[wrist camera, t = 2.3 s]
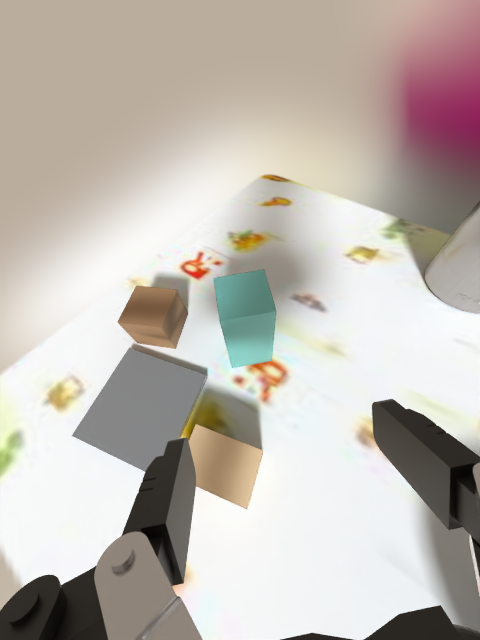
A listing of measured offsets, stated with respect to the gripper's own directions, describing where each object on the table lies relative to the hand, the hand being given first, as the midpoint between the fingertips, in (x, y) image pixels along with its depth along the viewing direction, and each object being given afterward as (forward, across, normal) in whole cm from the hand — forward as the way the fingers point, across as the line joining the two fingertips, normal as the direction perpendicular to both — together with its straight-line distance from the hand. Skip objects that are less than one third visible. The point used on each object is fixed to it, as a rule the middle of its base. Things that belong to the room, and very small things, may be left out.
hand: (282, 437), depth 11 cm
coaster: (+15, +12, +5) cm, 20 cm away
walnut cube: (+22, +10, -1) cm, 24 cm away
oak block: (+10, +4, +10) cm, 15 cm away
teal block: (+18, 0, +2) cm, 19 cm away
